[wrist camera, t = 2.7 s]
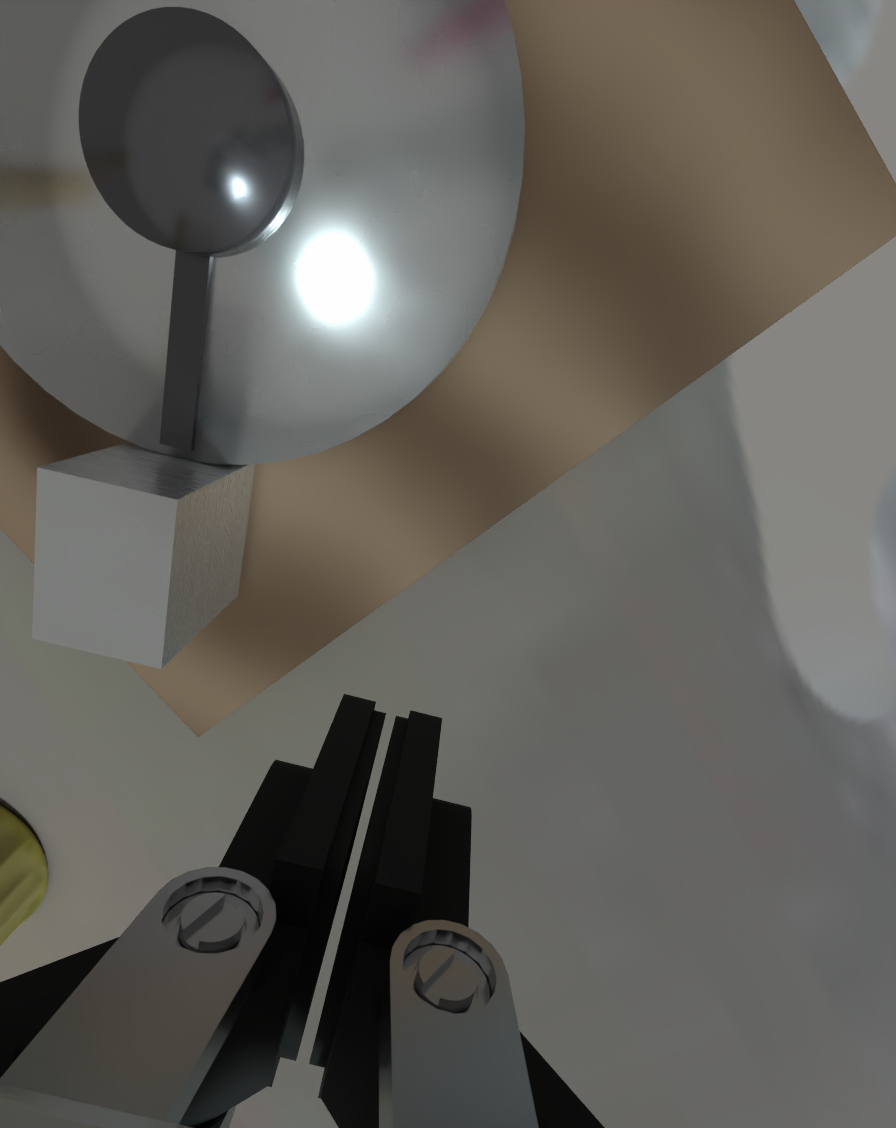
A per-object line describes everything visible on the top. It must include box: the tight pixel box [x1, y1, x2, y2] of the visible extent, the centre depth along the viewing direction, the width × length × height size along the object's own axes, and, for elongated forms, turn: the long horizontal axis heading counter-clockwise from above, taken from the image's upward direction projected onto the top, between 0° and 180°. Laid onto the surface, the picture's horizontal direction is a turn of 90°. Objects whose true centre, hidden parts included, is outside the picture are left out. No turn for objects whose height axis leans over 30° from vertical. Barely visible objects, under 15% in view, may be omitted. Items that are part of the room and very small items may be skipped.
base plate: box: [0, 0, 896, 737], centre depth 16 cm, size 24×20×6 cm
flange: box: [0, 0, 525, 669], centre depth 15 cm, size 18×14×5 cm
